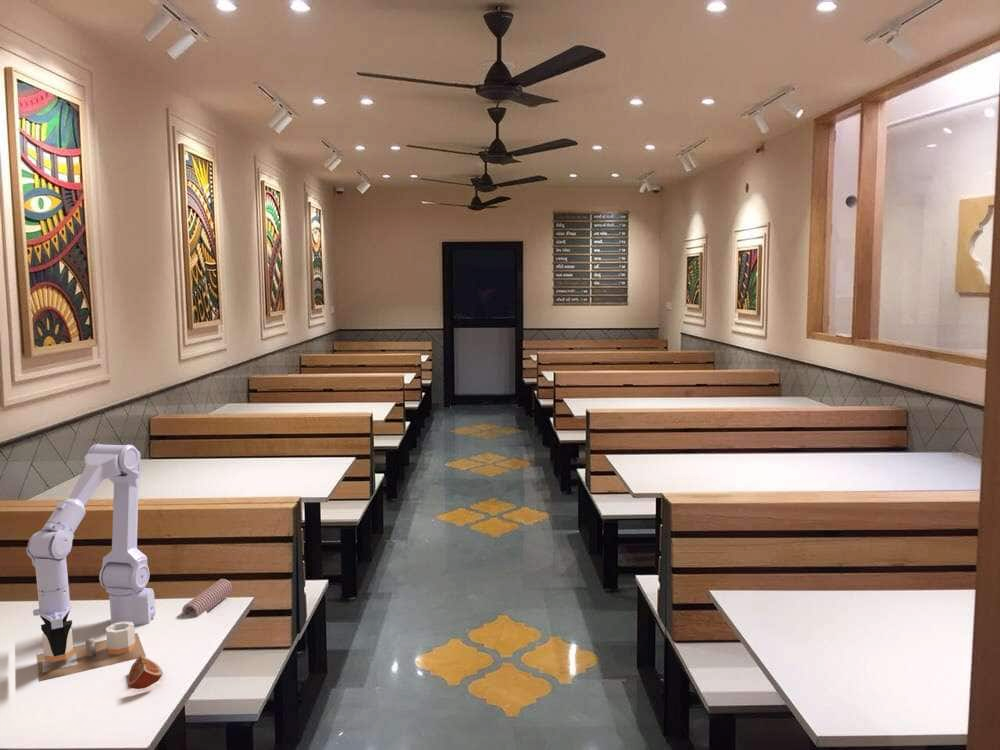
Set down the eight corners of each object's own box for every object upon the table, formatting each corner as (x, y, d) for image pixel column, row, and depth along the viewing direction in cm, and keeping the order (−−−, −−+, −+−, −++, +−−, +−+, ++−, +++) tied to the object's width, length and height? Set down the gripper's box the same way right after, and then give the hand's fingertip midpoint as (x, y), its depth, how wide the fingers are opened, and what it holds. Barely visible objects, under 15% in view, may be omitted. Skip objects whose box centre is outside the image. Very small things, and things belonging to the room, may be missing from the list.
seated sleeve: (106, 647, 179) (105, 625, 178) (133, 641, 182) (132, 619, 181) (109, 656, 174) (107, 634, 174) (136, 650, 177) (135, 628, 177)
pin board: (137, 639, 186) (136, 616, 186) (146, 663, 174) (144, 639, 174) (37, 661, 176) (35, 637, 176) (39, 688, 164) (37, 663, 164)
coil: (198, 606, 194) (234, 579, 212) (180, 603, 195) (217, 576, 212) (197, 624, 195) (233, 596, 212) (179, 622, 195) (216, 593, 213)
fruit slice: (126, 680, 167) (124, 657, 166) (161, 672, 170) (159, 649, 169) (128, 698, 160) (126, 674, 159) (165, 690, 163) (163, 666, 162)
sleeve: (44, 653, 173) (41, 631, 172) (72, 647, 176) (70, 625, 175) (44, 663, 168) (42, 640, 168) (74, 657, 171) (72, 634, 170)
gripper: (30, 580, 174) (35, 640, 176) (31, 602, 162) (37, 667, 164) (67, 573, 178) (72, 633, 179) (71, 595, 165) (77, 658, 167)
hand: (58, 649), depth 172 cm, fingers closed on sleeve, 5 cm apart
